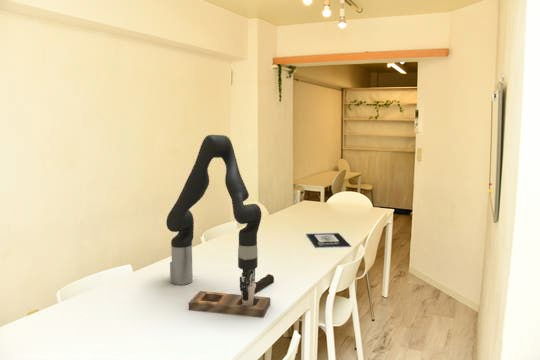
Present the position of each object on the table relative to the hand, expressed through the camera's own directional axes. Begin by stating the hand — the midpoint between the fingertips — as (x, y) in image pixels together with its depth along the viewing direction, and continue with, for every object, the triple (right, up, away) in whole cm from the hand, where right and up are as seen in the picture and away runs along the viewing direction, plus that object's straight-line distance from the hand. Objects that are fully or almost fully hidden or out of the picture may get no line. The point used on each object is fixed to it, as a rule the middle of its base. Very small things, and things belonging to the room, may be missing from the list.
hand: (247, 296), depth 174 cm
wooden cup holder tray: (-7, -5, +2) cm, 9 cm away
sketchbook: (+44, +7, +101) cm, 110 cm away
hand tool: (+5, -3, +22) cm, 22 cm away
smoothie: (0, -5, +1) cm, 5 cm away
